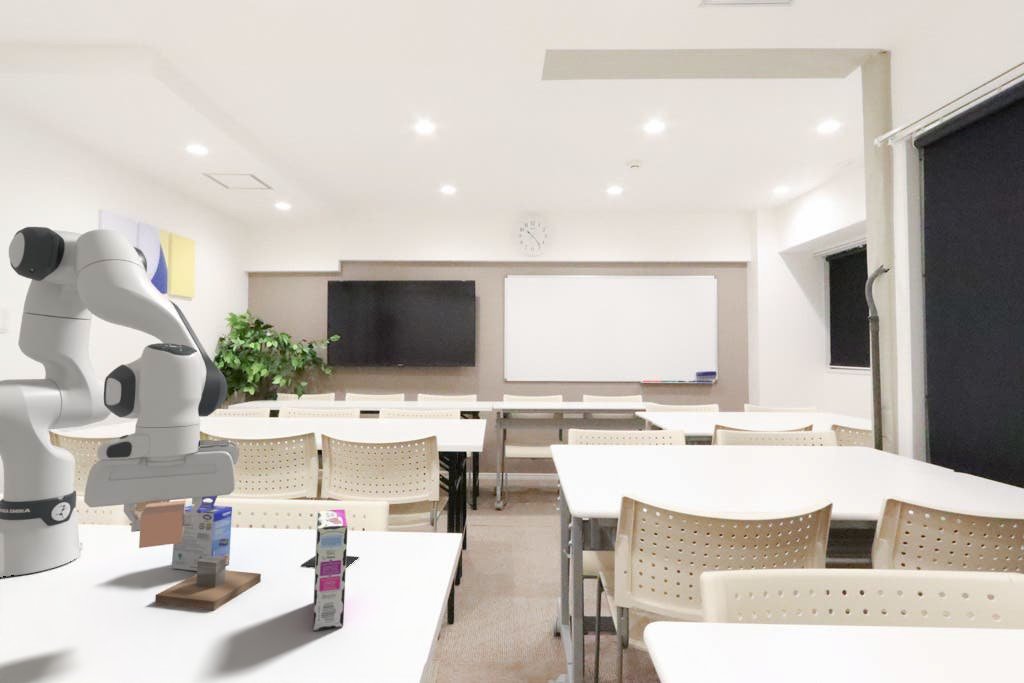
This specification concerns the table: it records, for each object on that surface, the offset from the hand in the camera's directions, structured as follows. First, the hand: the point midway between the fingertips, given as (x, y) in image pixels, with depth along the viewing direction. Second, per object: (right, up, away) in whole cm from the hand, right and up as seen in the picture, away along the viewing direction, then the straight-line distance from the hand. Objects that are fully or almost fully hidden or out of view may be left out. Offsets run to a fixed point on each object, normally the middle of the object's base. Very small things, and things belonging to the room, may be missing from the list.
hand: (163, 527), depth 82 cm
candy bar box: (+25, -17, +5) cm, 31 cm away
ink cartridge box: (-9, -17, +24) cm, 31 cm away
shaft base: (0, -17, +12) cm, 21 cm away
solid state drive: (+18, -18, +27) cm, 37 cm away
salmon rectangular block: (0, -2, 0) cm, 2 cm away
